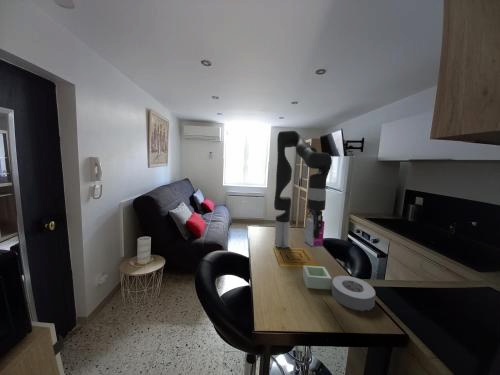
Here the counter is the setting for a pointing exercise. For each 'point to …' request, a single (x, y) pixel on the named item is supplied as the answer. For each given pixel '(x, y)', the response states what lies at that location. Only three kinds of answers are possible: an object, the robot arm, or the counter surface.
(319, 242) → the supplement box
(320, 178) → the robot arm
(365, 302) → the tape roll
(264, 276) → the counter surface
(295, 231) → the counter surface
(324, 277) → the holder
